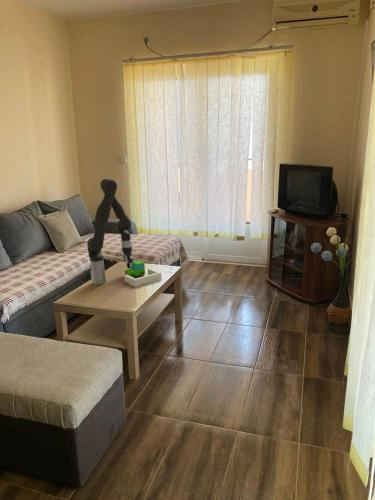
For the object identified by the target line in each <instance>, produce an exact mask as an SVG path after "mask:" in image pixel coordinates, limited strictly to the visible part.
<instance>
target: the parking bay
mask: <svg viewBox="0 0 375 500" xmlns="http://www.w3.org/2000/svg"><path fill="white" fill-rule="evenodd" d="M123 278H124V282H125V283H127V284H128V285H130V286H133V287H135V288H137V287H141V286H144V285H147V284H150V283H153V282H157V281H159V280H162V272H160V271H158V270H156V269H153V268H147V275H143V276H141V277H137V278H135V277H134V278H133V277H131V276H129V275H125V274H124V275H123ZM143 284H144V285H143ZM140 285H141V286H140Z"/></svg>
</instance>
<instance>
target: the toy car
mask: <svg viewBox="0 0 375 500" xmlns="http://www.w3.org/2000/svg"><path fill="white" fill-rule="evenodd" d="M145 266H146V265H145V262H144V261H142V260H133V261H132V263H130V268H127V269H125V270H124V271H123V273H124V275H129V276H131V277H133V278H135V277H138V276H141V277H144V276H145V274H146V267H145Z"/></svg>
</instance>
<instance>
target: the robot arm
mask: <svg viewBox="0 0 375 500" xmlns="http://www.w3.org/2000/svg"><path fill="white" fill-rule="evenodd" d="M100 189H101V190H102V192H103V193H104V195H103V198H102V200H101V202H100V204H99V205H98V207H97V208H96V211H95V216H94V233H93V236H92V237H90V238H88V240H87V242H86V245H87V253H88V256H89V257H88V258H89V262H90V279H91V280H90V281H91V284H93V285H94V286H98V285H103V284H105V283H106V282H107V279H106V271H105V263H104V256H103V253H102V249H103V248H104V247H103V246H104V241H105V234H106V230H107V226H108V222H109V218H110V215H111V211H112V210H113V212H114V215H115V218H117V220H118V222H117V228H118V231H119V234H120V240H121V242H120V243H121V253H123V255H121V257H122V259H123V261H124V263H126V268H127V269H130V267H131V264H132V262H134V257H133V256H132V252H133V243H132V237H131V232H129V231H128V230H130V229H131V228H132V221H131V220H130V218H129V217H128V215H127V214H126V212H125V208H124V207H123V205H122V204H121V201H119V199H118V198H117V196H116V194H117V190H118V184H117V181H115V179H109V178H104V179H102V180H101V181H100ZM111 209H112V210H111Z"/></svg>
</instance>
